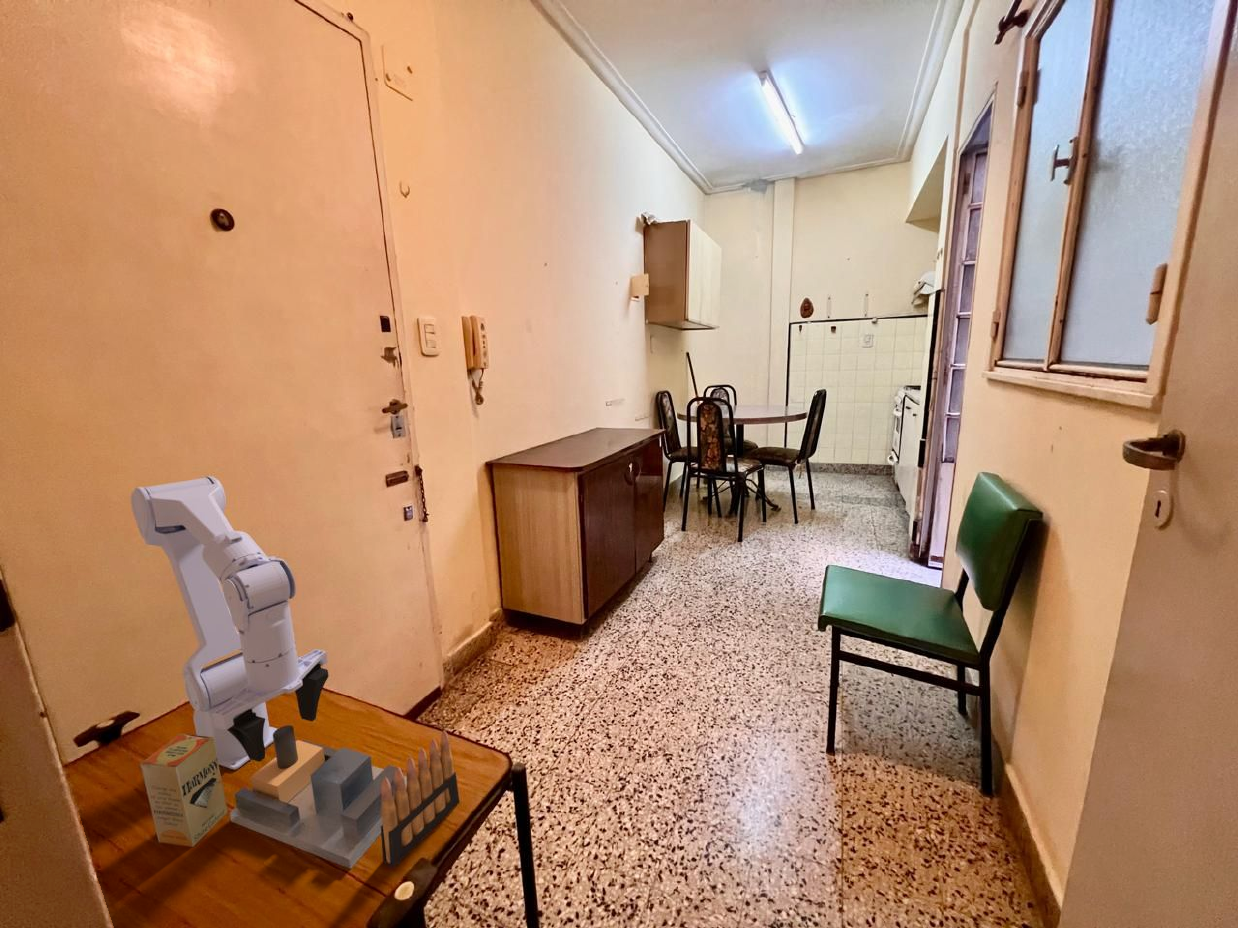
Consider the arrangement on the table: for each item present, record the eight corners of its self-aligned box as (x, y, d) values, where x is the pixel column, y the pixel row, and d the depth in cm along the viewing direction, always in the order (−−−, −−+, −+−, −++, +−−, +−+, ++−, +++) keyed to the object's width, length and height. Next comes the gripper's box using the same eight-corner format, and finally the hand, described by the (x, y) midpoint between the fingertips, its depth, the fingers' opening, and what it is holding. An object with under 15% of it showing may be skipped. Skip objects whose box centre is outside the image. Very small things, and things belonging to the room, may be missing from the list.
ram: (254, 798, 67) (244, 745, 65) (300, 759, 73) (293, 710, 72) (281, 808, 65) (272, 754, 64) (326, 767, 72) (318, 718, 70)
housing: (307, 809, 65) (301, 772, 64) (338, 779, 70) (333, 744, 69) (345, 823, 63) (339, 784, 62) (374, 791, 68) (370, 755, 67)
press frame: (231, 821, 65) (225, 790, 64) (311, 754, 76) (307, 727, 75) (350, 868, 59) (346, 835, 58) (418, 788, 70) (415, 759, 69)
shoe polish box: (227, 811, 67) (213, 736, 64) (192, 846, 62) (175, 767, 59) (195, 807, 67) (180, 733, 65) (158, 842, 62) (140, 763, 60)
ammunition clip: (392, 868, 59) (382, 786, 57) (382, 861, 60) (372, 780, 58) (459, 801, 68) (454, 728, 66) (450, 795, 69) (444, 723, 67)
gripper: (234, 690, 57) (252, 786, 60) (338, 627, 71) (349, 708, 73) (193, 678, 59) (212, 772, 62) (302, 620, 73) (313, 699, 75)
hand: (284, 737), depth 68 cm, fingers open, 7 cm apart
